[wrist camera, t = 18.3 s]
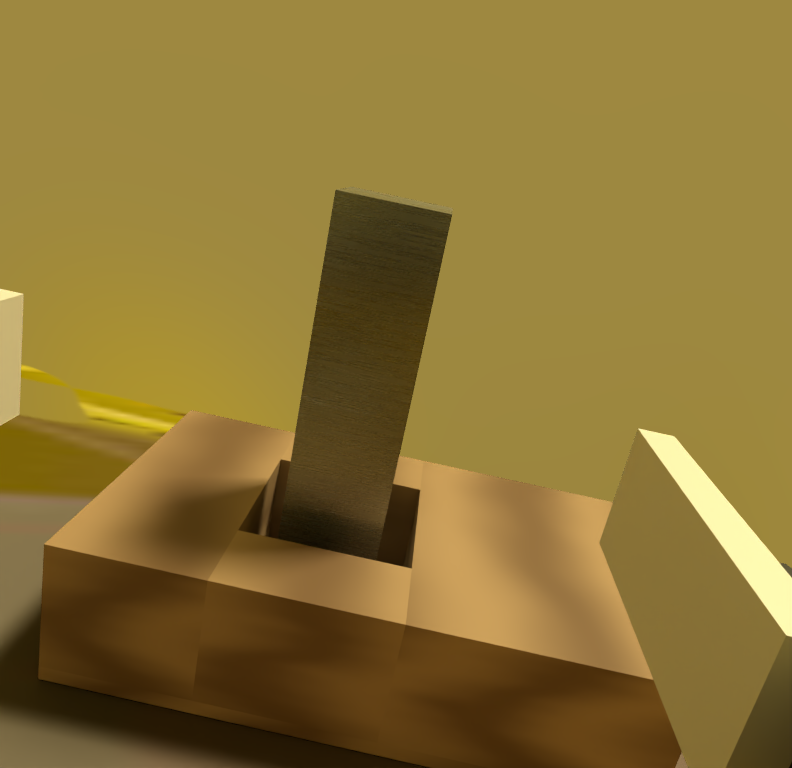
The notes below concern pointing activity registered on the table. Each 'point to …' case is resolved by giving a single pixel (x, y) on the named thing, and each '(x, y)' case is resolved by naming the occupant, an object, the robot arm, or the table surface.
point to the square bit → (361, 368)
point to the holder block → (354, 612)
